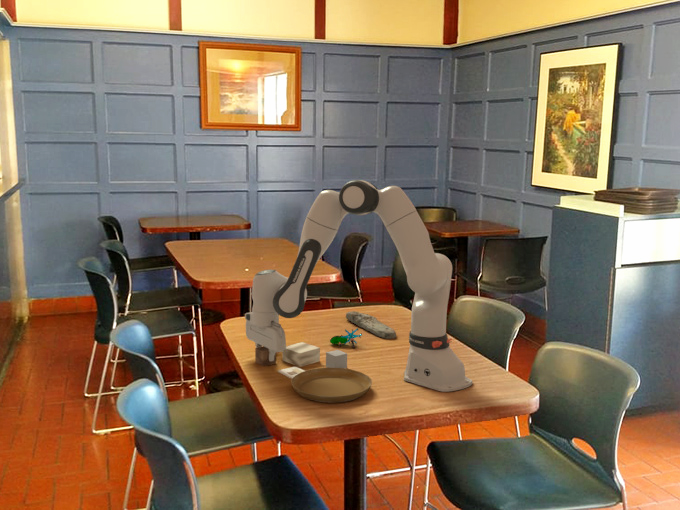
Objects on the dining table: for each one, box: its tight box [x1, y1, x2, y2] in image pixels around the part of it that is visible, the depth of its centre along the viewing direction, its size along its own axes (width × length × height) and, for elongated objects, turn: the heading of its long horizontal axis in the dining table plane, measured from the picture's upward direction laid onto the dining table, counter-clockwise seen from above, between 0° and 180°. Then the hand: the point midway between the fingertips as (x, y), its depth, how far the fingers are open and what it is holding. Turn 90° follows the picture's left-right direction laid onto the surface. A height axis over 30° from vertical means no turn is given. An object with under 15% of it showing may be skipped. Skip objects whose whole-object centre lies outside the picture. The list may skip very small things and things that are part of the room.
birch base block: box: [281, 341, 321, 368], centre depth 230 cm, size 9×9×5 cm
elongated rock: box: [345, 310, 397, 340], centre depth 273 cm, size 35×5×10 cm
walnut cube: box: [254, 346, 277, 367], centre depth 227 cm, size 5×5×5 cm
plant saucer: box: [291, 367, 373, 404], centre depth 204 cm, size 24×24×3 cm
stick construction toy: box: [329, 327, 363, 349], centre depth 248 cm, size 12×7×8 cm
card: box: [277, 365, 305, 380], centre depth 217 cm, size 10×7×1 cm
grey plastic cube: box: [325, 349, 348, 369], centre depth 224 cm, size 5×5×5 cm
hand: (265, 358), depth 227 cm, fingers closed on walnut cube, 5 cm apart
